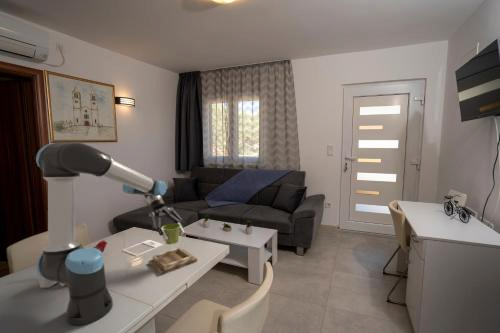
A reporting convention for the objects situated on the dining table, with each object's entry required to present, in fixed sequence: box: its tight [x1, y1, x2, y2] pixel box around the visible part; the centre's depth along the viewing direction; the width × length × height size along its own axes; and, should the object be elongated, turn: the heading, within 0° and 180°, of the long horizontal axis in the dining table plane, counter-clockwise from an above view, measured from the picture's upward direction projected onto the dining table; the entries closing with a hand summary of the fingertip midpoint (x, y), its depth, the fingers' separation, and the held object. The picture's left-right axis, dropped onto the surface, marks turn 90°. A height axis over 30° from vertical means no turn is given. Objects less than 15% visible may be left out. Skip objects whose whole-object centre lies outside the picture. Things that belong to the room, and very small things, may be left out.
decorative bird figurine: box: [92, 240, 109, 254], centre depth 138 cm, size 3×18×10 cm, turn 129°
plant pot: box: [161, 222, 180, 245], centre depth 133 cm, size 9×9×9 cm
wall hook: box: [35, 272, 67, 289], centre depth 115 cm, size 8×10×10 cm
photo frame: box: [122, 239, 164, 257], centre depth 154 cm, size 15×1×18 cm
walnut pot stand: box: [147, 246, 198, 276], centre depth 134 cm, size 20×16×4 cm
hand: (175, 236), depth 131 cm, fingers closed on plant pot, 9 cm apart
